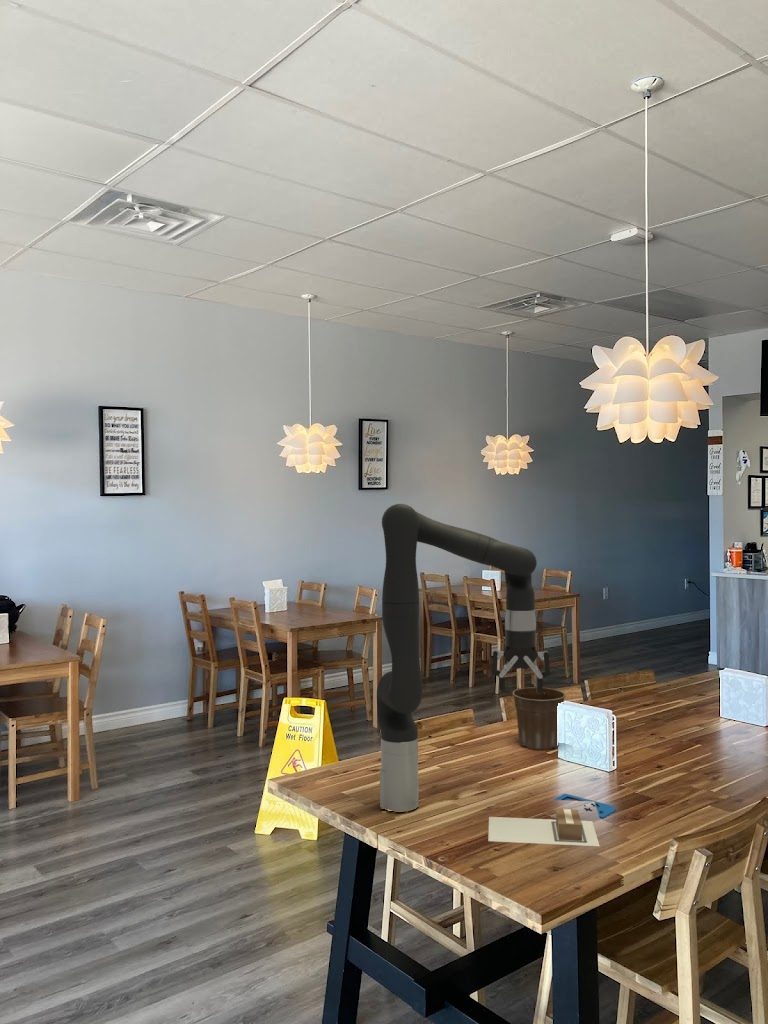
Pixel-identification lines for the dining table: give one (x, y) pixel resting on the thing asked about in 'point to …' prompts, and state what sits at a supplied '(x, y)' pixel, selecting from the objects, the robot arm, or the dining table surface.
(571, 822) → the card box
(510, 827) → the mat
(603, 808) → the handheld gaming device
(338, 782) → the dining table surface
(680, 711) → the dining table surface
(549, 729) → the plant pot
